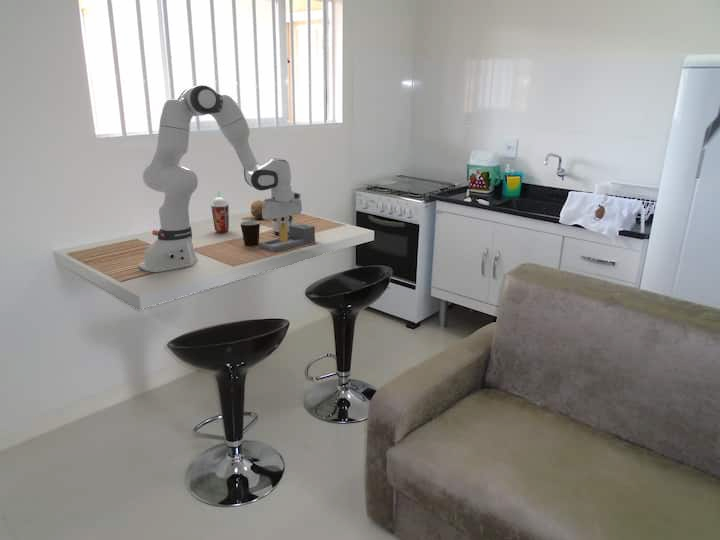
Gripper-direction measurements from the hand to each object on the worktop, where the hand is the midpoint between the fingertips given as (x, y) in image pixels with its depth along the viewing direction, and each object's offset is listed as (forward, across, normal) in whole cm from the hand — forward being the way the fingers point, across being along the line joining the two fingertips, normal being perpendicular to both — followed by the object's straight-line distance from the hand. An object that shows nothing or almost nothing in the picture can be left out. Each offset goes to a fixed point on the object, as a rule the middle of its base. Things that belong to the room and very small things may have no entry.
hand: (282, 226), depth 239 cm
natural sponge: (+9, +26, +52) cm, 59 cm away
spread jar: (+9, +14, +19) cm, 25 cm away
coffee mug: (+9, -8, +13) cm, 17 cm away
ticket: (+7, 0, 0) cm, 7 cm away
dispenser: (+9, +3, 0) cm, 9 cm away
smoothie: (+9, -4, +42) cm, 43 cm away
